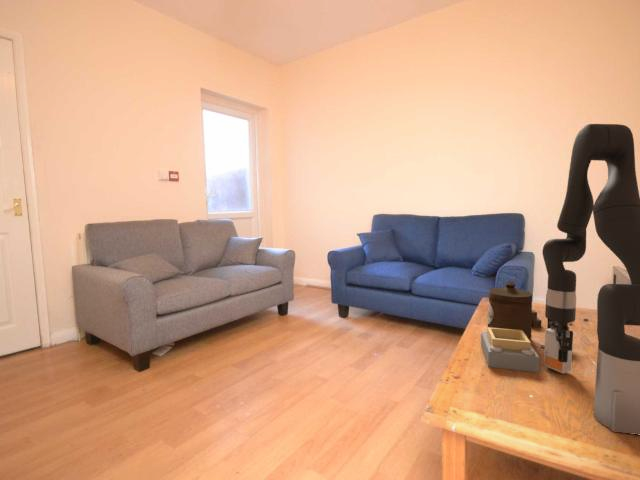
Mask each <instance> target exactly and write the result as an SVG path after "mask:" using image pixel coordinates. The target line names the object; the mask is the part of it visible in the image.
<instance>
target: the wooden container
mask: <svg viewBox="0 0 640 480" xmlns="http://www.w3.org/2000/svg"><path fill="white" fill-rule="evenodd" d="M516 286H517V285H516V282H514V281H512V280H511V281H506V282H505V286H504V287H499V286H498V287H492V288H489V289H488V310H487V327H490V328H502V329H514V330H523V332H524V333H525V335H526V336H527V338H528V339H529V341H530V342H531V343H532V310H533V293H532V292H530V291H528V290H524V289H520V288H515V287H516Z"/></svg>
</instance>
